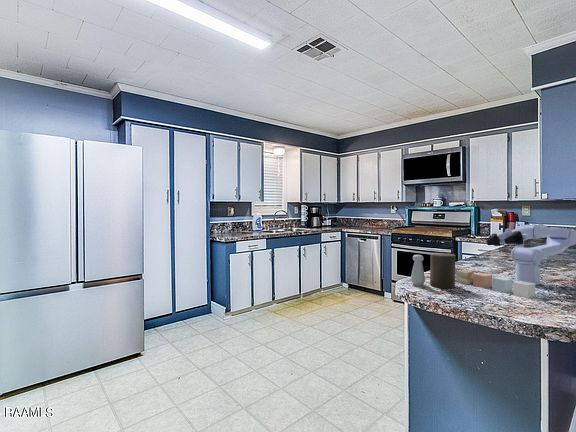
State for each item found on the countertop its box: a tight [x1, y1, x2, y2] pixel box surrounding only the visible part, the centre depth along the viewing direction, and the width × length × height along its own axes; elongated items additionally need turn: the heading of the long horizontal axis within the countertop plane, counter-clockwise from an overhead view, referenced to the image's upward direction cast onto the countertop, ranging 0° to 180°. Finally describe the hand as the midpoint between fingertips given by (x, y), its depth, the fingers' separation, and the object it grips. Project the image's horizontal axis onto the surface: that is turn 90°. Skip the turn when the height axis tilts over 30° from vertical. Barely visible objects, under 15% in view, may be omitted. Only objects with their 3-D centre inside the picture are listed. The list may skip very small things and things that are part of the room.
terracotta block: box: [472, 272, 493, 289], centre depth 135 cm, size 5×5×5 cm
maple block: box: [455, 269, 475, 285], centre depth 143 cm, size 5×5×5 cm
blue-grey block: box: [491, 276, 514, 294], centre depth 128 cm, size 5×5×5 cm
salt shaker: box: [410, 254, 426, 287], centre depth 138 cm, size 6×6×13 cm
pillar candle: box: [429, 251, 456, 290], centre depth 136 cm, size 10×10×15 cm
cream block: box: [512, 281, 536, 299], centre depth 121 cm, size 5×5×5 cm
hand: (496, 242), depth 131 cm, fingers open, 7 cm apart
